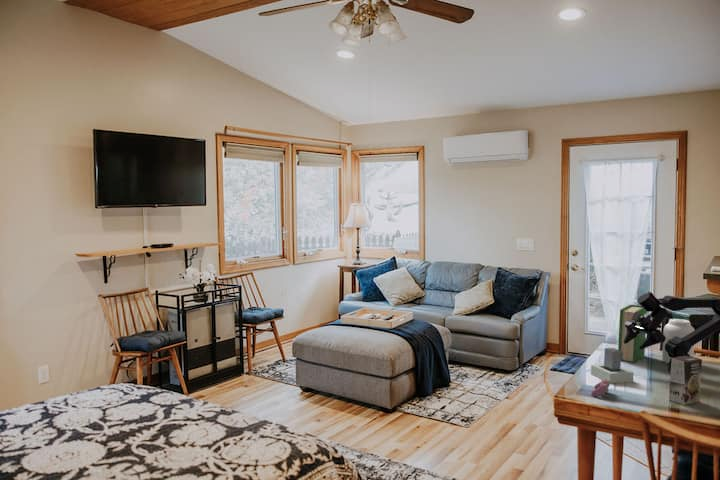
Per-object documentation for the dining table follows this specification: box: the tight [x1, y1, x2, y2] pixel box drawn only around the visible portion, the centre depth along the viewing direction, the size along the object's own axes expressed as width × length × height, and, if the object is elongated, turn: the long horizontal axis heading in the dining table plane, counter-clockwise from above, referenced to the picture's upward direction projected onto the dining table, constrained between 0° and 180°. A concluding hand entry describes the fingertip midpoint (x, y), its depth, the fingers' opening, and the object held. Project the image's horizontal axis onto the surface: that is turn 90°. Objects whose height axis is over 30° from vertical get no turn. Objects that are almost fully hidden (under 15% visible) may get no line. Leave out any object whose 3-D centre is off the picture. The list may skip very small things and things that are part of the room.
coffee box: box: [668, 356, 703, 406], centre depth 204 cm, size 9×6×16 cm
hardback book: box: [617, 304, 648, 364], centre depth 260 cm, size 18×7×24 cm, turn 140°
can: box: [661, 318, 695, 365], centre depth 254 cm, size 12×12×20 cm
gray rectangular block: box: [603, 347, 623, 372], centre depth 230 cm, size 5×5×12 cm
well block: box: [590, 363, 635, 384], centre depth 230 cm, size 11×12×4 cm
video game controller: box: [590, 379, 612, 398], centre depth 210 cm, size 10×5×7 cm, turn 149°
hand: (631, 345), depth 234 cm, fingers open, 9 cm apart
